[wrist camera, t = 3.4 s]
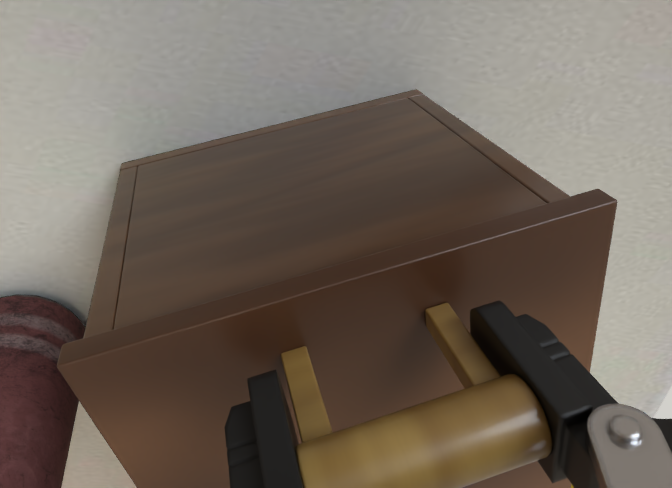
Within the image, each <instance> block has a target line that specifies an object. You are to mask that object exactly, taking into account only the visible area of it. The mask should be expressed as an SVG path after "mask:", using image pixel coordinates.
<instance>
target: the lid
mask: <svg viewBox="0 0 672 488" xmlns="http://www.w3.org/2000/svg"><path fill="white" fill-rule="evenodd" d="M616 207H617V200H616V199H614V198H613V197H611V196H609V195H608V194H606V193H605V192H603V191H601V190H600V189H595V190H592V191H588V192H585V193H581V194H578V195H574V196H571V197H568V198H564V199H561V200H557V201H554V202H550V203H547V204H543V205H540V206H537V207H533V208H530V209H526V210H523V211H519V212H516V213H513V214H509V215H506V216H502V217H499V218H495V219H492V220H488V221H485V222H482V223H478V224H475V225H471V226H468V227H464V228H461V229H457V230H454V231H451V232H447V233H444V234H440V235H437V236H433V237H430V238H427V239H423V240H420V241H416V242H413V243H409V244H406V245H402V246H399V247H396V248H392V249H389V250H385V251H382V252H378V253H375V254H372V255H368V256H365V257H361V258H358V259H354V260H351V261H347V262H344V263H341V264H337V265H334V266H330V267H327V268H323V269H320V270H316V271H313V272H310V273H306V274H303V275H299V276H296V277H292V278H289V279H286V280H282V281H279V282H275V283H272V284H268V285H265V286H261V287H258V288H255V289H251V290H248V291H244V292H241V293H237V294H234V295H231V296H227V297H224V298H220V299H217V300H213V301H210V302H206V303H203V304H200V305H196V306H193V307H189V308H186V309H182V310H179V311H175V312H172V313H169V314H165V315H162V316H158V317H155V318H151V319H148V320H145V321H141V322H138V323H134V324H131V325H127V326H124V327H120V328H117V329H114V330H110V331H107V332H103V333H100V334H96V335H93V336H89V337H86V338H83V339H79V340H76V341H72V342H69V343H65V344H63V345H62V347H61V351H60V355H59V359H58V362H57V368H58V370H59V371H60V373H61V374H62V376H63V377H64V379H65V380H66V382H67V383H68V385H69V386H70V388H71V389H72V391H73V392H74V394H75V395H76V397H77V398H78V400H79V401H80V403H81V404H82V406H83V407H84V409H85V410H86V412H87V413H88V415H89V416H90V418H91V419H92V421H93V422H94V424H95V425H96V427H97V428H98V430H99V431H100V433H101V434H102V436H103V437H104V439H105V440H106V442H107V443H108V445H109V446H110V448H111V449H112V451H113V452H114V454H115V455H116V457H117V458H118V460H119V461H120V463H121V464H122V466H123V467H124V469H125V470H126V472H127V473H128V475H129V476H130V478H131V479H132V481H133V482H134V484H135V485H136V487H137V488H230V479H229V465H228V458H227V448H226V438H225V428H224V427H225V424H226V421H227V418H228V415H229V412H230V409H231V407H232V406H236V405H239V404H242V403H245V402H248V401H250V396H249V389H248V383H247V378H250V377H253V376H257V375H260V374H263V373H266V372H269V371H273V370H277V373H278V376H279V379H280V382H281V385H282V388H283V391H284V394H285V397H286V400H287V403H288V406H289V409H290V413H291V416H292V420H293V423H294V427H295V431H296V435H297V439H298V443H299V444H298V445H297V446H296V448H295V452H296V457H297V462H298V467H299V471H300V475H301V479H302V483H303V487H304V488H571V482H570V481H569V479H568V478H566V479H563V480H561V481H558V482H555V483H552V482H551V480H550V479H549V477H548V476H547V474H546V473H545V471H544V470H543V468H542V467H541V465H540V464H539V463H538V460H541V459H543V458H546V457H547V456H548V455H549V454H550V453H551V451H552V436H551V431H550V427H549V424H548V421H547V418H546V415H545V413H544V411H543V408H542V406H541V404H540V402H539V401H538V399H537V397H536V395H535V394H534V392H533V391H532V389H531V388H530V387H529V385H528V384H527V383H526V382H525V381H524V380H523V379H522V378H521V377H519V376H518V375H515V374H507V375H504V376H500V375H499V373H498V372H497V370H496V369H495V368H494V366H493V365H492V363H491V362H490V361H489V359H488V358H487V356H486V355H485V354H484V352H483V351H482V349H481V348H480V347H479V345H478V344H477V342H476V341H475V340H474V338H473V337H472V335H471V334H470V311H471V309H473V308H476V307H479V306H482V305H485V304H489V303H492V302H495V301H498V300H499V301H502V302H503V303H504V304H505V305H506V306H507V307H508V309H509V310H510V311H511V312H512V313H513V314H514V316H515V317H517V316H520V315H523V314H527V315H529V316H531V317H533V318H534V319H536V320H538V321H540V322H542V323H544V324H545V325H546V326H547V327H548V328H549V329H550V330H551V331H552V332H553V334H554V335H555V336H556V337H557V338H558V339H559V342H562V343H563V344H564V345H565V347H566V348H567V349H568V350H569V351H570V354H571V355H572V354H573V355H574V356H575V357H576V359H577V360H578V361H579V362H580V363H581V364H582V365H583V366H584V367H585V368H586V369H587V371H588V372H589V373H590V367H591V361H592V354H593V348H594V342H595V336H596V330H597V324H598V318H599V311H600V305H601V299H602V293H603V287H604V281H605V275H606V268H607V262H608V256H609V250H610V244H611V238H612V232H613V225H614V219H615V213H616Z"/></svg>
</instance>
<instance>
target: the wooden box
mask: <svg viewBox="0 0 672 488" xmlns="http://www.w3.org/2000/svg"><path fill="white" fill-rule="evenodd" d="M568 197H570V196H569V195H567V194H566V193H564V192H563V191H562V190H560V189H559V188H557V187H556V186H554V185H553V184H552V183H550V182H549V181H547V180H546V179H544V178H543V177H541V176H540V175H539V174H537V173H536V172H534V171H533V170H531V169H530V168H529V167H527V166H526V165H524V164H523V163H521V162H520V161H518V160H517V159H516V158H514V157H513V156H511V155H510V154H508V153H507V152H505V151H504V150H503V149H501V148H500V147H498V146H497V145H495V144H494V143H493V142H491V141H490V140H488V139H487V138H485V137H484V136H482V135H481V134H480V133H478V132H477V131H475V130H474V129H472V128H471V127H470V126H468V125H467V124H465V123H464V122H462V121H461V120H459V119H458V118H457V117H455V116H454V115H452V114H451V113H449V112H448V111H447V110H445V109H444V108H442V107H441V106H439V105H438V104H436V103H435V102H434V101H432V100H431V99H429V98H428V97H426V96H425V95H423V93H421V92H420V91H418V90H417V89H416V90H412V91H408V92H404V93H400V94H396V95H392V96H388V97H384V98H380V99H376V100H372V101H368V102H364V103H360V104H356V105H352V106H348V107H344V108H340V109H336V110H332V111H328V112H324V113H320V114H316V115H312V116H308V117H304V118H300V119H296V120H292V121H288V122H284V123H281V124H277V125H273V126H269V127H265V128H261V129H257V130H253V131H249V132H245V133H241V134H237V135H233V136H229V137H225V138H221V139H217V140H213V141H209V142H205V143H201V144H197V145H193V146H189V147H185V148H181V149H177V150H173V151H169V152H165V153H161V154H157V155H153V156H149V157H145V158H141V159H137V160H133V161H129V162H125V163H122V164H121V169H120V174H119V179H118V183H117V188H116V192H115V197H114V201H113V206H112V210H111V215H110V219H109V224H108V228H107V233H106V237H105V242H104V247H103V251H102V256H101V260H100V265H99V269H98V274H97V278H96V283H95V287H94V292H93V296H92V301H91V305H90V310H89V314H88V319H87V324H86V328H85V333H84V337H83V338H86V337H89V336H93V335H96V334H100V333H103V332H107V331H110V330H114V329H117V328H120V327H124V326H127V325H131V324H134V323H138V322H141V321H145V320H148V319H151V318H155V317H158V316H162V315H165V314H169V313H172V312H175V311H179V310H182V309H186V308H189V307H193V306H196V305H200V304H203V303H206V302H210V301H213V300H217V299H220V298H224V297H227V296H231V295H234V294H237V293H241V292H244V291H248V290H251V289H255V288H258V287H261V286H265V285H268V284H272V283H275V282H279V281H282V280H286V279H289V278H292V277H296V276H299V275H303V274H306V273H310V272H313V271H316V270H320V269H323V268H327V267H330V266H334V265H337V264H341V263H344V262H347V261H351V260H354V259H358V258H361V257H365V256H368V255H372V254H375V253H378V252H382V251H385V250H389V249H392V248H396V247H399V246H402V245H406V244H409V243H413V242H416V241H420V240H423V239H427V238H430V237H433V236H437V235H440V234H444V233H447V232H451V231H454V230H457V229H461V228H464V227H468V226H471V225H475V224H478V223H482V222H485V221H488V220H492V219H495V218H499V217H502V216H506V215H509V214H513V213H516V212H519V211H523V210H526V209H530V208H533V207H537V206H540V205H543V204H547V203H550V202H554V201H557V200H561V199H564V198H568Z"/></svg>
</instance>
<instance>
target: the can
mask: <svg viewBox="0 0 672 488" xmlns="http://www.w3.org/2000/svg"><path fill="white" fill-rule="evenodd" d="M84 333H85V326H84V325H83V324H82V323H81V322H80V321H79V319H78V318H77V317H76V316H75V315H74V314H73V313H72V312H71V311H70V310H69V309H67V308H65V307H64V306H62V305H60V304H59V303H57V302H55V301H52V300H49V299H46V298H42V297H39V296H30V295H13V296H7V297H1V298H0V488H61V486H62V481H63V476H64V471H65V466H66V461H67V456H68V451H69V446H70V441H71V437H72V432H73V427H74V422H75V417H76V412H77V407H78V402H79V400H78V398H77V397H76V395H75V394H74V392H73V391H72V389H71V388H70V386H69V385H68V383H67V382H66V380H65V379H64V377H63V376H62V374H61V373H60V371H59V370H58V368H57V362H58V359H59V355H60V351H61V347H62V345H63V344H65V343H69V342H72V341H76V340H79V339H83V337H84Z"/></svg>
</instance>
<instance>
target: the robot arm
mask: <svg viewBox="0 0 672 488" xmlns="http://www.w3.org/2000/svg"><path fill="white" fill-rule="evenodd" d="M470 334H471V335H472V337H473V338H474V340H475V341H476V342H477V344H478V345H479V347H480V348H481V349H482V351H483V352H484V354H485V355H486V356H487V358H488V359H489V361H490V362H491V363H492V365H493V366H494V368H495V369H496V370H497V372H498V373H499V375H500V376H504V375H507V374H515V375H518V376H519V377H521V378H522V379H523V380H524V381H525V382H526V383H527V384H528V385H529V387H530V388H531V389H532V391H533V392H534V394H535V395H536V397H537V399H538V401H539V402H540V404H541V406H542V408H543V411H544V413H545V415H546V418H547V421H548V424H549V427H550V431H551V436H552V451H551V453H550V454H549V455H548V456H547V457H546V458H543V459H541V460H538V463H539V464H540V465H541V467H542V468H543V470H544V471H545V473H546V474H547V476H548V477H549V479H550V480H551V482H552V483H555V482H558V481H561V480H563V479H566V478H568V479H569V481H570V482H571V484H572V485H573V486H574V488H672V419H655V418H651V417H649V416H648V415H647V414H645V413H644V412H642V411H640V410H638V409H636V408H634V407H631V406H627V405H623V404H619V403H618V402H616V401H615V400H614V399H613V398H612V397H611V396H610V394H609V393H608V392H607V391H606V390H605V389H604V388H603V387H602V386H601V385H600V384H599V382H598V381H597V380H596V379H595V378H594V377H593V376H592V375H591V374H590V373H589V372H588V371H587V369H586V368H585V367H584V366H583V365H582V364H581V363H580V362H579V361H578V360H577V359H576V357H575V356H574V355H573V354H572V355H571V354H570V351H569V350H568V349H567V348H566V347H565V345H564V344H563V343H562V342H559V339H558V338H557V337H556V336H555V335H554V334H553V332H552V331H551V330H550V329H549V328H548V327H547V326H546V325H545V324H544V323H542V322H540V321H538V320H536V319H534V318H533V317H531V316H529V315H527V314H523V315H520V316H517V317H515V316H514V314H513V313H512V312H511V311H510V310H509V309H508V307H507V306H506V305H505V304H504V303H503V302H502V301H499V300H498V301H495V302H492V303H489V304H485V305H482V306H479V307H476V308H473V309H471V311H470ZM247 383H248V389H249V396H250V401H248V402H245V403H242V404H239V405H236V406H232V407H231V409H230V412H229V415H228V418H227V421H226V424H225V427H224V428H225V438H226V448H227V458H228V465H229V479H230V488H304V487H303V483H302V479H301V475H300V471H299V467H298V462H297V457H296V452H295V448H296V446H297V445H298V444H299V443H298V439H297V435H296V431H295V427H294V423H293V420H292V416H291V413H290V409H289V406H288V403H287V400H286V397H285V394H284V391H283V388H282V385H281V382H280V379H279V376H278V373H277V370H273V371H269V372H266V373H263V374H260V375H257V376H253V377H250V378H247Z"/></svg>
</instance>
